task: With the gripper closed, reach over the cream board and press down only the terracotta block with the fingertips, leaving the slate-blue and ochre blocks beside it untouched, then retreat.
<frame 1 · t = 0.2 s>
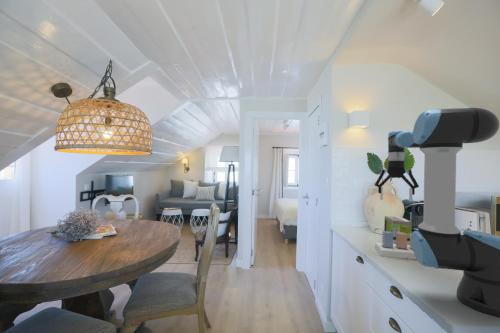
hand: (395, 200, 130), 28 cm above the worktop, fingers open, 13 cm apart
slate block: (387, 238, 129), point 7 cm above the worktop, slide at 0.0 cm
tea box: (396, 243, 147), on the worktop
board: (401, 253, 128), on the worktop
ochre block: (415, 241, 126), point 7 cm above the worktop, slide at 0.0 cm
terracotta block: (401, 239, 128), point 7 cm above the worktop, slide at 0.0 cm
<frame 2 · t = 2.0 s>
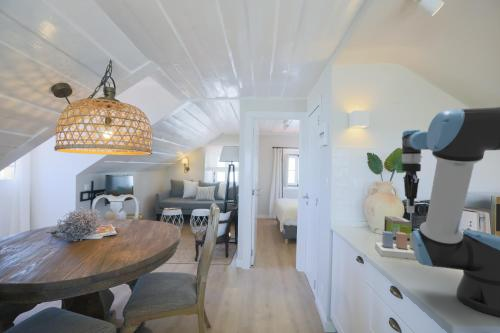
hand: (410, 212, 116), 24 cm above the worktop, fingers closed
nothing on the worktop moved.
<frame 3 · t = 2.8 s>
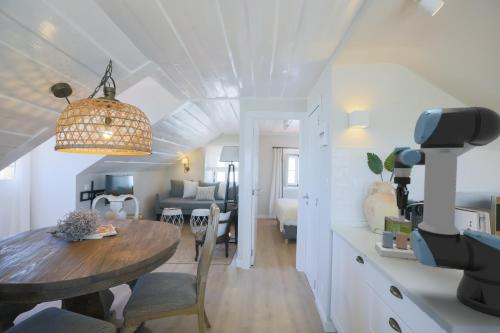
hand: (401, 221, 128), 17 cm above the worktop, fingers closed
nothing on the worktop moved.
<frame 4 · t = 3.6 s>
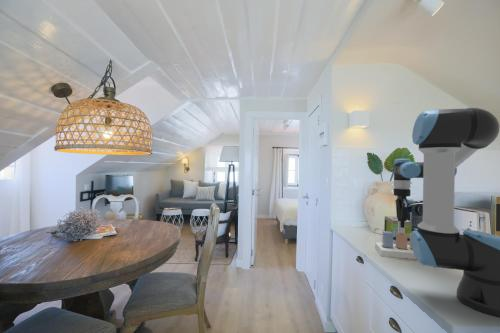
hand: (401, 233, 128), 11 cm above the worktop, fingers closed
terracotta block: (401, 240, 128), point 7 cm above the worktop, slide at 0.3 cm, touching gripper
everything else where it was.
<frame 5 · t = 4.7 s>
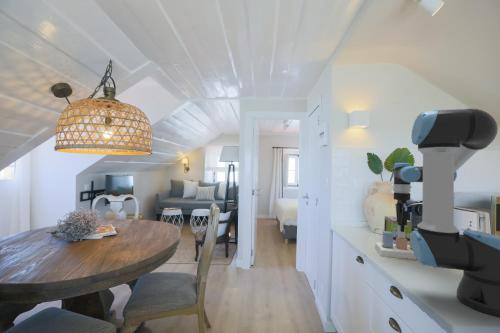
hand: (401, 237, 128), 9 cm above the worktop, fingers closed
terracotta block: (401, 244, 128), point 5 cm above the worktop, slide at 2.6 cm
everything else where it was.
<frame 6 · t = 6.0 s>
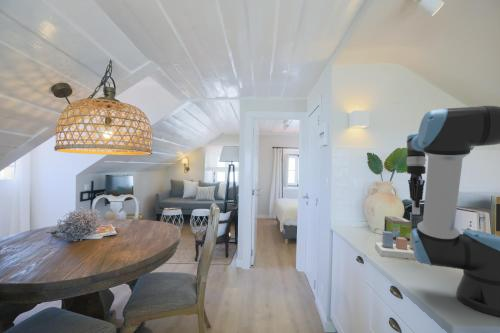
hand: (416, 214, 119), 22 cm above the worktop, fingers closed
nothing on the worktop moved.
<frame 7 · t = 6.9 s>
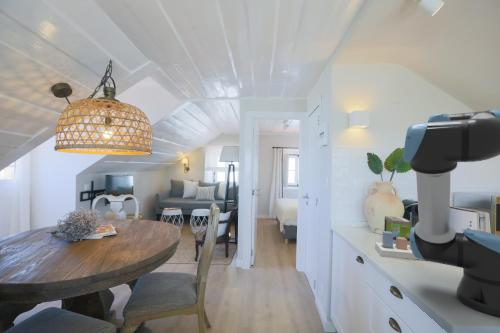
hand: (438, 203, 108), 29 cm above the worktop, fingers closed
nothing on the worktop moved.
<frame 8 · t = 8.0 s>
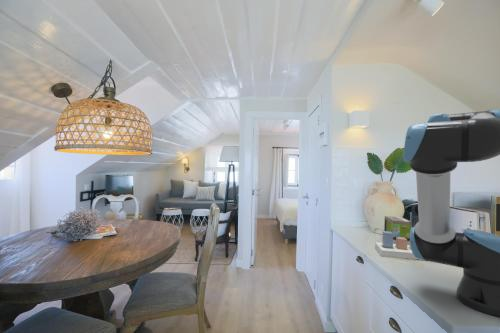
hand: (438, 203, 108), 29 cm above the worktop, fingers closed
nothing on the worktop moved.
at the end: terracotta block slide at 2.6 cm; ochre block slide at 0.0 cm; slate block slide at 0.0 cm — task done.
